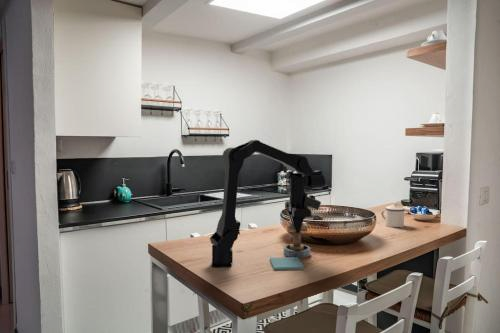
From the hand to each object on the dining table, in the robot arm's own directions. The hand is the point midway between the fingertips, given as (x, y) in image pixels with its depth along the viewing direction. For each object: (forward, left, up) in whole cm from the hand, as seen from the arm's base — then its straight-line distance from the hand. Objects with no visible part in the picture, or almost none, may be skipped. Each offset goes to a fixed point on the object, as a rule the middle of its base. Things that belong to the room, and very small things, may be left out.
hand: (297, 231), depth 132 cm
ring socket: (0, 0, -8) cm, 8 cm away
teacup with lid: (+58, +43, -9) cm, 73 cm away
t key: (0, 0, -6) cm, 6 cm away
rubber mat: (-6, -11, -8) cm, 15 cm away
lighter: (+14, +23, -9) cm, 28 cm away
